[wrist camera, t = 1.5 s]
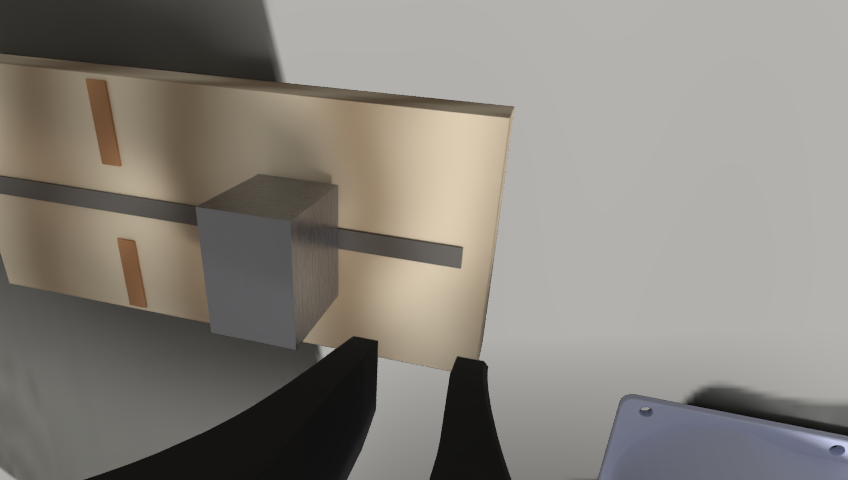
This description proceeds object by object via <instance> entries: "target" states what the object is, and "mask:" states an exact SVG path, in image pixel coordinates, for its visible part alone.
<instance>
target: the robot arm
mask: <svg viewBox="0 0 848 480" xmlns="http://www.w3.org/2000/svg"><path fill="white" fill-rule="evenodd" d="M377 362H378V341H377V340H372V339H367V338H361V337H356V336H353V337H351V338H350V339H348V340H347V341H346V342H344V343H343V344H342V345H340V346H339V347H338V348H336V349H335V350H334V351H332V352H331V353H330V354H328V355H327V356H326V357H324V358H323V359H321V360H320V361H319V362H317V363H316V364H315V365H313V366H312V367H311V368H309V369H308V370H306V371H305V372H304V373H302V374H301V375H299V376H298V377H297V378H295V379H294V380H292V381H291V382H289V383H288V384H287V385H285V386H284V387H282V388H281V389H279V390H277V391H276V392H274V393H273V394H271V395H270V396H268V397H266V398H265V399H263V400H262V401H260V402H259V403H257V404H255V405H254V406H252V407H251V408H249V409H247V410H245V411H244V412H242V413H240V414H238V415H236V416H235V417H233V418H231V419H229V420H227V421H225V422H223V423H221V424H219V425H218V426H216V427H214V428H212V429H210V430H208V431H206V432H204V433H202V434H199V435H197V436H195V437H193V438H190V439H188V440H186V441H184V442H181V443H179V444H177V445H175V446H172V447H170V448H168V449H166V450H163V451H161V452H159V453H157V454H154V455H152V456H149V457H146V458H144V459H141V460H139V461H136V462H134V463H131V464H128V465H126V466H123V467H120V468H117V469H114V470H111V471H109V472H106V473H103V474H100V475H97V476H94V477H91V478H88V479H85V480H347V478H348V476H349V474H350V472H351V470H352V468H353V466H354V464H355V462H356V460H357V458H358V456H359V454H360V452H361V450H362V447H363V444H364V442H365V439H366V436H367V433H368V431H369V428H370V425H371V422H372V419H373V416H374V413H375V410H376V391H377V388H376V387H377ZM487 372H488V366H487V365H486V363H485V362H484V361H480V360H475V359H469V358H464V357H459V356H457V358H456V360H455V362H454V365H453V368H452V370H451V373H450V378H449V385H448V391H447V398H446V405H445V411H444V418H443V425H442V431H441V438H440V443H439V448H438V453H437V457H436V460H435V463H434V466H433V470H432V473H431V476H430V480H511V477H510V475H509V472H508V469H507V466H506V463H505V460H504V457H503V454H502V450H501V447H500V444H499V440H498V436H497V432H496V428H495V423H494V419H493V415H492V410H491V405H490V399H489V392H488V382H487ZM643 407H649V408H650V409H649V410H647V411H643V410H641V408H643ZM835 445H838V446H837V447H835V448H831V447H832V446H835ZM598 480H848V436H845V435H840V434H835V433H830V432H825V431H820V430H814V429H809V428H804V427H799V426H794V425H789V424H784V423H779V422H774V421H768V420H763V419H758V418H753V417H748V416H743V415H738V414H733V413H728V412H722V411H717V410H712V409H707V408H702V407H697V406H692V405H687V404H681V403H676V402H671V401H666V400H661V399H656V398H651V397H646V396H640V395H635V394H630V395H625V396H624V397H623V398H621V400H620V403H619V407H618V409H617V413H616V416H615V420H614V423H613V427H612V430H611V434H610V438H609V441H608V444H607V448H606V452H605V455H604V459H603V462H602V466H601V469H600V473H599V476H598Z"/></svg>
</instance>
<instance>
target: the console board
mask: <svg viewBox="0 0 848 480" xmlns="http://www.w3.org/2000/svg"><path fill="white" fill-rule="evenodd" d="M513 114H514V107H513V106H503V105H493V104H483V103H473V102H463V101H454V100H445V99H444V100H443V99H435V98H424V97H416V96H405V95H396V94H387V93H376V92H367V91H357V90H348V89H338V88H328V87H319V86H318V87H317V86H309V85H299V84H290V83H280V82H270V81H261V80H251V79H241V78H232V77H222V76H212V75H202V74H193V73H183V72H173V71H164V70H154V69H144V68H135V67H125V66H115V65H106V64H96V63H86V62H77V61H67V60H57V59H47V58H38V57H28V56H18V55H9V54H0V253H1V256H2V260H3V263H4V266H5V269H6V273H7V276H8V279H9V283H12V284H17V285H22V286H27V287H32V288H37V289H42V290H47V291H52V292H57V293H62V294H67V295H72V296H77V297H82V298H87V299H92V300H97V301H102V302H107V303H112V304H117V305H122V306H127V307H132V308H137V309H141V310H146V311H151V312H156V313H161V314H166V315H171V316H176V317H181V318H186V319H191V320H196V321H201V322H206V323H210V320H209V312H208V304H207V296H206V288H205V280H204V272H203V264H202V256H201V248H200V240H199V232H198V224H197V216H196V208H195V207H196V206H198V205H200V204H202V203H204V202H205V201H207V200H209V199H211V198H213V197H215V196H217V195H219V194H221V193H223V192H225V191H227V190H229V189H230V188H232V187H234V186H236V185H238V184H240V183H242V182H244V181H246V180H248V179H250V178H252V177H254V176H255V175H257V174H264V175H271V176H278V177H285V178H293V179H300V180H307V181H314V182H321V183H329V184H336V185H338V297H337V298H336V299H335V300H334V302H333V303H332V304H331V306H330V307H329V308H328V309H327V311H326V312H325V313H324V315H323V316H322V317H321V318H320V320H319V321H318V322H317V324H316V325H315V326H314V327H313V329H312V330H311V331H310V333H309V334H308V335H307V336H306V338H305V339H304V340H303V342H306V343H311V344H316V345H321V346H326V347H331V348H338V347H339V346H340V345H342V344H343V343H344V342H346V341H347V340H348V339H350V338H351V337H353V336H356V337H361V338H367V339H372V340H377V341H378V357H381V358H387V359H391V360H396V361H401V362H406V363H411V364H416V365H421V366H426V367H431V368H436V369H442V370H446V371H451V370H452V368H453V365H454V362H455V360H456V358H457V356H459V357H464V358H469V359H475V360H479V356H480V351H481V347H482V342H483V335H484V327H485V320H486V313H487V305H488V298H489V291H490V283H491V276H492V269H493V261H494V253H495V246H496V239H497V232H498V224H499V217H500V210H501V203H502V195H503V188H504V181H505V173H506V166H507V158H508V151H509V143H510V137H511V129H512V122H513Z"/></svg>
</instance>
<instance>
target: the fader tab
mask: <svg viewBox="0 0 848 480" xmlns="http://www.w3.org/2000/svg"><path fill="white" fill-rule="evenodd" d="M195 208H196V216H197V224H198V232H199V240H200V248H201V256H202V264H203V272H204V280H205V288H206V296H207V304H208V312H209V320H210V328H211V333H216V334H220V335H225V336H230V337H235V338H240V339H245V340H250V341H255V342H260V343H265V344H269V345H274V346H279V347H284V348H289V349H294V350H296V349H297V348H298V347H299V345H300V344H301V343H302V342H303V340H304V339H305V338H306V336H307V335H308V334H309V333H310V331H311V330H312V329H313V327H314V326H315V325H316V324H317V322H318V321H319V320H320V318H321V317H322V316H323V315H324V313H325V312H326V311H327V309H328V308H329V307H330V306H331V304H332V303H333V302H334V300H335V299H336V298H337V297H338V185H336V184H329V183H321V182H314V181H307V180H300V179H293V178H285V177H278V176H271V175H264V174H257V175H255V176H254V177H252V178H250V179H248V180H246V181H244V182H242V183H240V184H238V185H236V186H234V187H232V188H230V189H229V190H227V191H225V192H223V193H221V194H219V195H217V196H215V197H213V198H211V199H209V200H207V201H205V202H204V203H202V204H200V205H198V206H196V207H195Z"/></svg>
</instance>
